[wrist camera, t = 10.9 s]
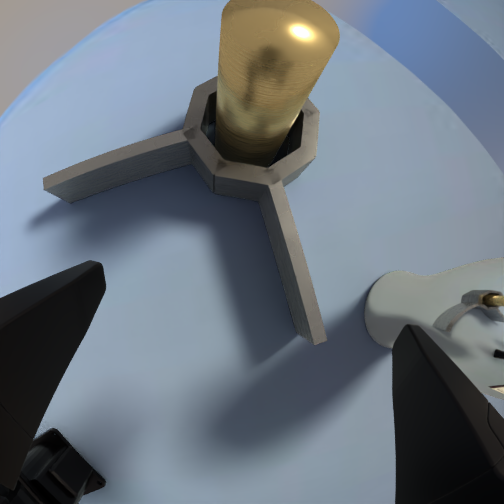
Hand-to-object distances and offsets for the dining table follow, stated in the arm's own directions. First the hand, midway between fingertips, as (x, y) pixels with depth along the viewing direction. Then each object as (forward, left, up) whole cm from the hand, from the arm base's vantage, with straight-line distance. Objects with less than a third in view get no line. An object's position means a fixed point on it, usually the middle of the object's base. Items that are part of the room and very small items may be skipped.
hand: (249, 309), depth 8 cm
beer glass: (+9, -9, -12) cm, 18 cm away
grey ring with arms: (+2, +3, -12) cm, 13 cm away
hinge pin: (+7, +7, -12) cm, 16 cm away
